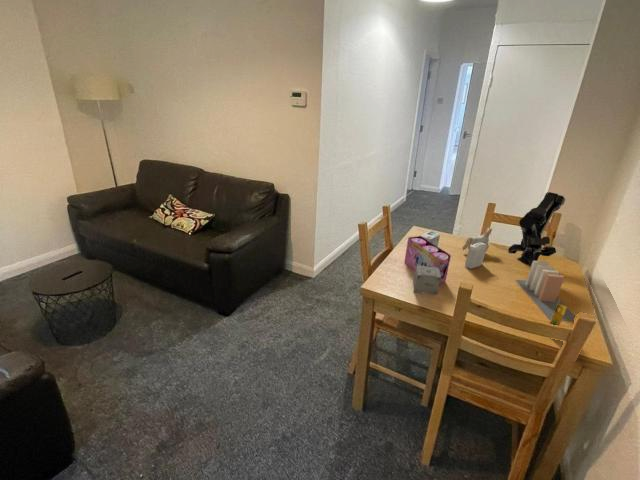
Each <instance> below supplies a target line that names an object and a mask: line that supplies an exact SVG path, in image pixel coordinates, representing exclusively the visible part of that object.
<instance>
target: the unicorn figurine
mask: <svg viewBox="0 0 640 480" xmlns="http://www.w3.org/2000/svg"><path fill="white" fill-rule="evenodd" d="M492 230H493V228H491V227H490V226H489V224H487V228H486V231H485V232H484V233H483V234H481V235H479V236H475V235H474V236H470V237H469V236H468V237H467V239H466V241H465V243H464V244H463V246H462V251H464V250H468V251H469V248H470V247H471V246H472V245H474V244H476V243H484V244H486V247H487V248H486V251H485V254H486V252H487V251H488V249H489V248H490V247H489V241H490V240H489V238H490V237H489V236H490V235H491V234H492Z"/></svg>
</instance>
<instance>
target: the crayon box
mask: <svg viewBox="0 0 640 480" xmlns="http://www.w3.org/2000/svg"><path fill="white" fill-rule="evenodd" d="M559 301H561V299H559ZM558 303H559V302H558ZM566 308H568V307H567V306H566V305H565V306H563V305H560V304H557V307H556V309H555V311H554V314H553V316H552V318H551V320H549V323H548V325H549V324H553V325H558V326H559V327H560V325H561V322H562V321H561V320H562V318H563V316H564V314H565V311H566Z"/></svg>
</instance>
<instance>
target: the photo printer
mask: <svg viewBox="0 0 640 480" xmlns="http://www.w3.org/2000/svg"><path fill="white" fill-rule="evenodd" d="M486 248H487V246H486V244H484V243H476V244H474V245H472V244H471V245H470V248H469V250H468V252H467V255H466V260H465V264H464V266H465V268H467V269H469V270H470V269H474V268H477V267H481V266H482V264H483V261H484V259H485V258H484V257H485V254H486V253H485V251H486ZM486 252H487V251H486Z"/></svg>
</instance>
